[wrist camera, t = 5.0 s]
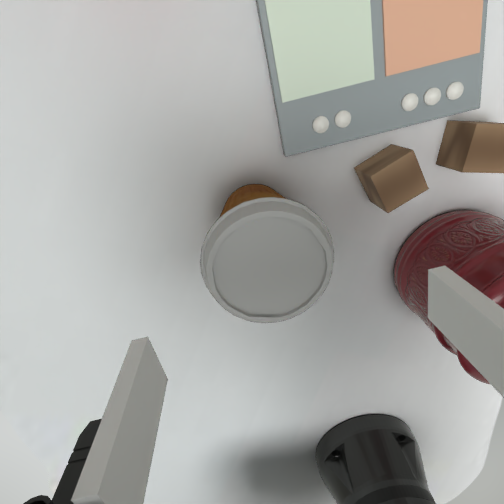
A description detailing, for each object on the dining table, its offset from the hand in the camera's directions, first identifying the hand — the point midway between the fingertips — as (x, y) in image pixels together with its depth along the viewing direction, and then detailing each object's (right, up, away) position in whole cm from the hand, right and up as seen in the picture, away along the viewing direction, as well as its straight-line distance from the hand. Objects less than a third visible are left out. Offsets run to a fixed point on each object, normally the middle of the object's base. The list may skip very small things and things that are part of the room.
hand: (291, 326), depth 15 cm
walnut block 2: (+18, +14, +16) cm, 28 cm away
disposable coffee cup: (-2, +7, +18) cm, 19 cm away
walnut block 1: (+11, +11, +17) cm, 23 cm away
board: (+8, +21, +12) cm, 25 cm away
